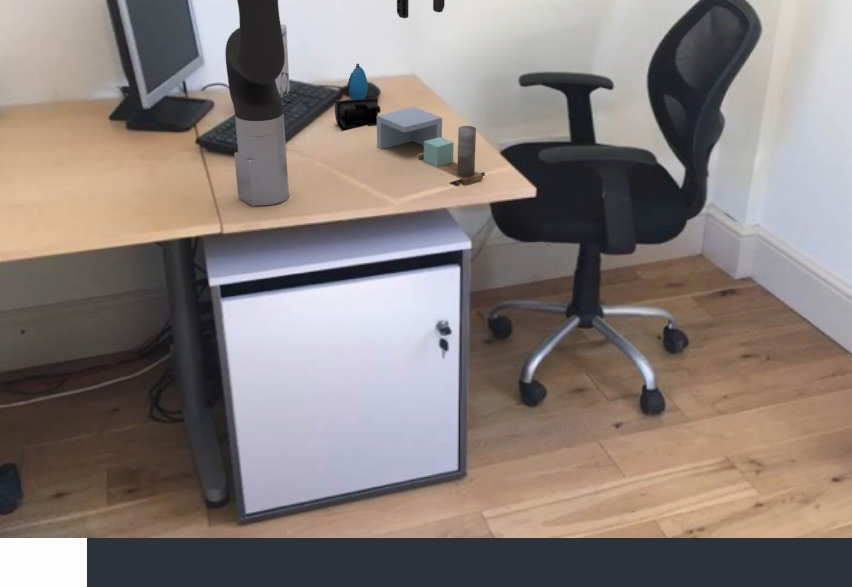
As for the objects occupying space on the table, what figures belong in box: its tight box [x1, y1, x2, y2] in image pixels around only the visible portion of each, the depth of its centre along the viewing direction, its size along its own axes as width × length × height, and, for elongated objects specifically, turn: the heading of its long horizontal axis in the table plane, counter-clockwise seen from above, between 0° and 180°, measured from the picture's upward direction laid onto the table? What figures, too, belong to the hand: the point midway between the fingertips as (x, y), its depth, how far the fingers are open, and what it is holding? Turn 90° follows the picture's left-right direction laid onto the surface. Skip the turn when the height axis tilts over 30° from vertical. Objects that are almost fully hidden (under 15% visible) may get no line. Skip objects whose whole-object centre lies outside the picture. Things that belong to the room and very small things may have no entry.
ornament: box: [347, 63, 369, 100], centre depth 241 cm, size 8×5×10 cm, turn 165°
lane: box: [449, 172, 486, 187], centre depth 203 cm, size 8×24×1 cm, turn 39°
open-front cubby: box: [376, 106, 443, 150], centre depth 208 cm, size 10×10×9 cm
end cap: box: [334, 97, 382, 132], centre depth 224 cm, size 10×7×7 cm
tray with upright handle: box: [417, 125, 483, 186], centre depth 197 cm, size 5×16×11 cm, turn 39°
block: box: [423, 137, 454, 168], centre depth 201 cm, size 4×4×4 cm
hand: (420, 14), depth 179 cm, fingers open, 8 cm apart
